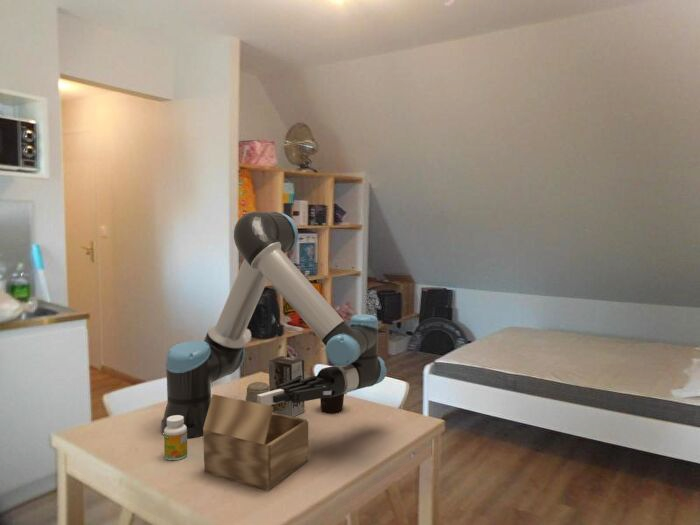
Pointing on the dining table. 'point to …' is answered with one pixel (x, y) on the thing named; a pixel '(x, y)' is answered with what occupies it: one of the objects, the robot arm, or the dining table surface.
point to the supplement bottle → (175, 438)
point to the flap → (238, 418)
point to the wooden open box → (259, 453)
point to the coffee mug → (332, 404)
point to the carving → (256, 390)
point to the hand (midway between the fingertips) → (258, 401)
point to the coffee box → (281, 373)
